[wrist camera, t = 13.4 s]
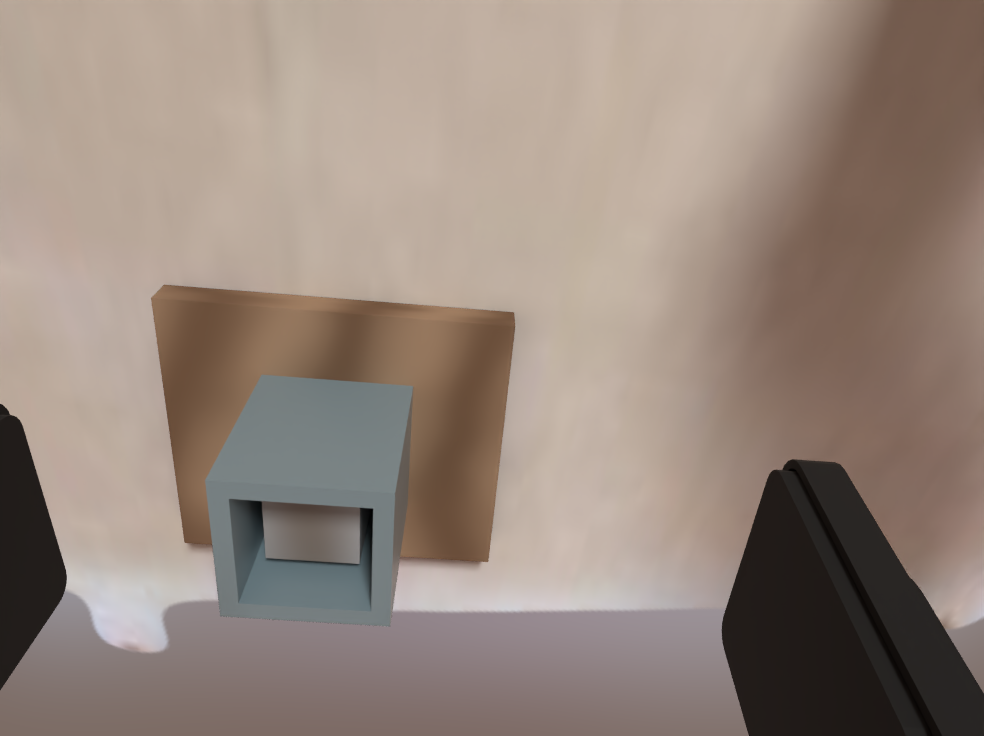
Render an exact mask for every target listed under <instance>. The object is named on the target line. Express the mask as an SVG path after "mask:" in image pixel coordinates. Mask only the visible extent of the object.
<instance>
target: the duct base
mask: <svg viewBox="0 0 984 736" xmlns="http://www.w3.org/2000/svg"><path fill="white" fill-rule="evenodd" d="M151 300H152V308H153V315H154V322H155V329H156V337H157V344H158V351H159V359H160V366H161V373H162V381H163V388H164V395H165V402H166V410H167V417H168V424H169V432H170V439H171V446H172V454H173V461H174V468H175V475H176V483H177V490H178V497H179V505H180V512H181V519H182V527H183V534H184V541H185V543H195V544H211V545H212V538H211V529H210V520H209V511H208V502H207V493H206V484H205V479H206V477H207V476H208V474H209V472H210V470H211V468H212V466H213V464H214V463H215V461H216V459H217V457H218V455H219V453H220V451H221V449H222V448H223V446H224V444H225V442H226V440H227V438H228V436H229V435H230V433H231V431H232V429H233V427H234V425H235V423H236V422H237V420H238V418H239V416H240V414H241V412H242V410H243V408H244V407H245V405H246V403H247V401H248V399H249V397H250V395H251V394H252V392H253V390H254V388H255V386H256V384H257V382H258V380H259V379H260V377H261V375H273V376H286V377H299V378H312V379H326V380H339V381H352V382H365V383H379V384H392V385H405V386H413V403H412V424H411V445H410V466H409V487H408V506H407V513H406V520H405V527H404V534H403V540H402V547H401V554H400V556H402V557H417V558H433V559H449V560H465V561H481V562H488V559H489V550H490V541H491V533H492V524H493V515H494V506H495V498H496V489H497V480H498V472H499V463H500V454H501V445H502V437H503V428H504V419H505V410H506V402H507V393H508V384H509V376H510V367H511V358H512V349H513V341H514V332H515V318H514V313H513V312H501V311H488V310H475V309H463V308H450V307H437V306H425V305H412V304H399V303H387V302H374V301H361V300H349V299H336V298H323V297H311V296H298V295H285V294H273V293H260V292H247V291H235V290H222V289H209V288H196V287H184V286H171V285H163V287H162V288H161V289H160V290H159V291H158V292H157V293H156V294H155V295H154V296H153V297H152V298H151ZM370 512H371V508H358V507H343V506H328V505H313V504H298V503H283V502H269V501H262V513H263V527H264V541H265V555H266V558H273V559H289V560H305V561H321V562H337V563H353V564H360V559H361V555H362V550H363V545H364V540H365V535H366V531H367V526H368V521H369V516H370Z"/></svg>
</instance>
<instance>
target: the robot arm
mask: <svg viewBox="0 0 984 736" xmlns="http://www.w3.org/2000/svg"><path fill="white" fill-rule="evenodd" d="M66 581H67V575H66V569H65V566H64V562H63V559H62V556H61V552H60V549H59V546H58V542H57V539H56V536H55V532H54V529H53V526H52V522H51V519H50V516H49V512H48V509H47V506H46V502H45V499H44V496H43V492H42V489H41V486H40V482H39V479H38V476H37V472H36V469H35V466H34V462H33V459H32V456H31V452H30V449H29V446H28V442H27V439H26V436H25V432H24V429H23V426H22V424H21V422H20V420H19V419H18V418H17V417H15V416H12V415H10V414H9V411H8V410H7V409H6V408H5V407H4V406H3V405H2V404H0V690H1V688H2V687H3V685H4V684H5V682H6V681H7V680H8V678H9V676H10V675H11V673H12V672H13V670H14V669H15V668H16V666H17V665H18V663H19V662H20V660H21V659H22V657H23V656H24V654H25V653H26V651H27V650H28V648H29V647H30V645H31V644H32V642H33V641H34V639H35V638H36V637H37V635H38V634H39V632H40V631H41V629H42V628H43V626H44V625H45V623H46V622H47V620H48V619H49V617H50V616H51V614H52V613H53V611H54V610H55V608H56V607H57V605H58V604H59V602H60V600H61V599H62V597H63V594H64V591H65V587H66ZM722 640H723V646H724V650H725V654H726V657H727V660H728V664H729V667H730V671H731V675H732V678H733V682H734V685H735V689H736V692H737V696H738V699H739V702H740V706H741V709H742V713H743V717H744V720H745V723H746V727H747V731H748V734H749V736H984V693H983V692H982V690H981V689H980V687H979V685H978V683H977V682H976V680H975V678H974V677H973V675H972V673H971V672H970V670H969V669H968V667H967V666H966V664H965V662H964V660H963V659H962V657H961V655H960V654H959V652H958V650H957V649H956V647H955V646H954V644H953V643H952V641H951V639H950V637H949V636H948V634H947V632H946V631H945V629H944V627H943V626H942V624H941V622H940V621H939V619H938V617H937V616H936V614H935V613H934V611H933V609H932V608H931V606H930V604H929V603H928V601H927V599H926V598H925V596H924V594H923V593H922V591H921V590H920V589H919V587H918V586H917V585H916V584H915V582H914V581H913V580H912V579H910V578H909V576H908V574H907V573H906V571H905V569H904V568H903V566H902V564H901V563H900V561H899V559H898V558H897V556H896V554H895V553H894V551H893V549H892V548H891V546H890V544H889V543H888V541H887V539H886V538H885V536H884V534H883V533H882V531H881V529H880V528H879V526H878V524H877V523H876V521H875V519H874V518H873V516H872V514H871V513H870V511H869V509H868V508H867V506H866V505H865V503H864V501H863V500H862V498H861V496H860V495H859V493H858V491H857V490H856V488H855V486H854V485H853V483H852V481H851V480H850V478H849V476H848V475H847V473H846V471H845V470H844V468H843V467H842V466H841V465H840V464H838V463H835V462H821V461H807V460H790V461H788V462H787V463H786V464H785V465H784V468H783V470H773V471H772V472H771V473H770V474H769V477H768V479H767V482H766V485H765V488H764V491H763V495H762V498H761V501H760V504H759V507H758V510H757V513H756V516H755V520H754V523H753V526H752V529H751V532H750V535H749V538H748V541H747V545H746V548H745V551H744V554H743V557H742V560H741V563H740V567H739V570H738V573H737V576H736V579H735V582H734V585H733V588H732V592H731V595H730V598H729V601H728V604H727V607H726V610H725V614H724V617H723V622H722Z"/></svg>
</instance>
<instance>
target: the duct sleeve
mask: <svg viewBox="0 0 984 736" xmlns="http://www.w3.org/2000/svg"><path fill="white" fill-rule="evenodd" d="M412 403H413V386H405V385H392V384H379V383H365V382H352V381H339V380H326V379H312V378H299V377H286V376H273V375H261V377H260V379H259V380H258V382H257V384H256V386H255V388H254V390H253V392H252V394H251V395H250V397H249V399H248V401H247V403H246V405H245V407H244V408H243V410H242V412H241V414H240V416H239V418H238V420H237V422H236V423H235V425H234V427H233V429H232V431H231V433H230V435H229V436H228V438H227V440H226V442H225V444H224V446H223V448H222V449H221V451H220V453H219V455H218V457H217V459H216V461H215V463H214V464H213V466H212V468H211V470H210V472H209V474H208V476H207V477H206V479H205V484H206V493H207V502H208V511H209V520H210V529H211V538H212V547H213V556H214V564H215V573H216V582H217V591H218V600H219V609H220V616H224V617H241V618H257V619H273V620H291V621H307V622H324V623H340V624H357V625H358V624H359V625H374V626H390V623H391V617H392V610H393V603H394V596H395V589H396V582H397V575H398V568H399V561H400V554H401V547H402V540H403V534H404V527H405V520H406V513H407V506H408V487H409V466H410V445H411V424H412ZM262 501H269V502H283V503H298V504H313V505H328V506H343V507H358V508H371V512H370V516H369V521H368V526H367V531H366V535H365V540H364V545H363V550H362V555H361V559H360V564H353V563H337V562H321V561H305V560H289V559H273V558H266V555H265V541H264V527H263V513H262Z"/></svg>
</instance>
